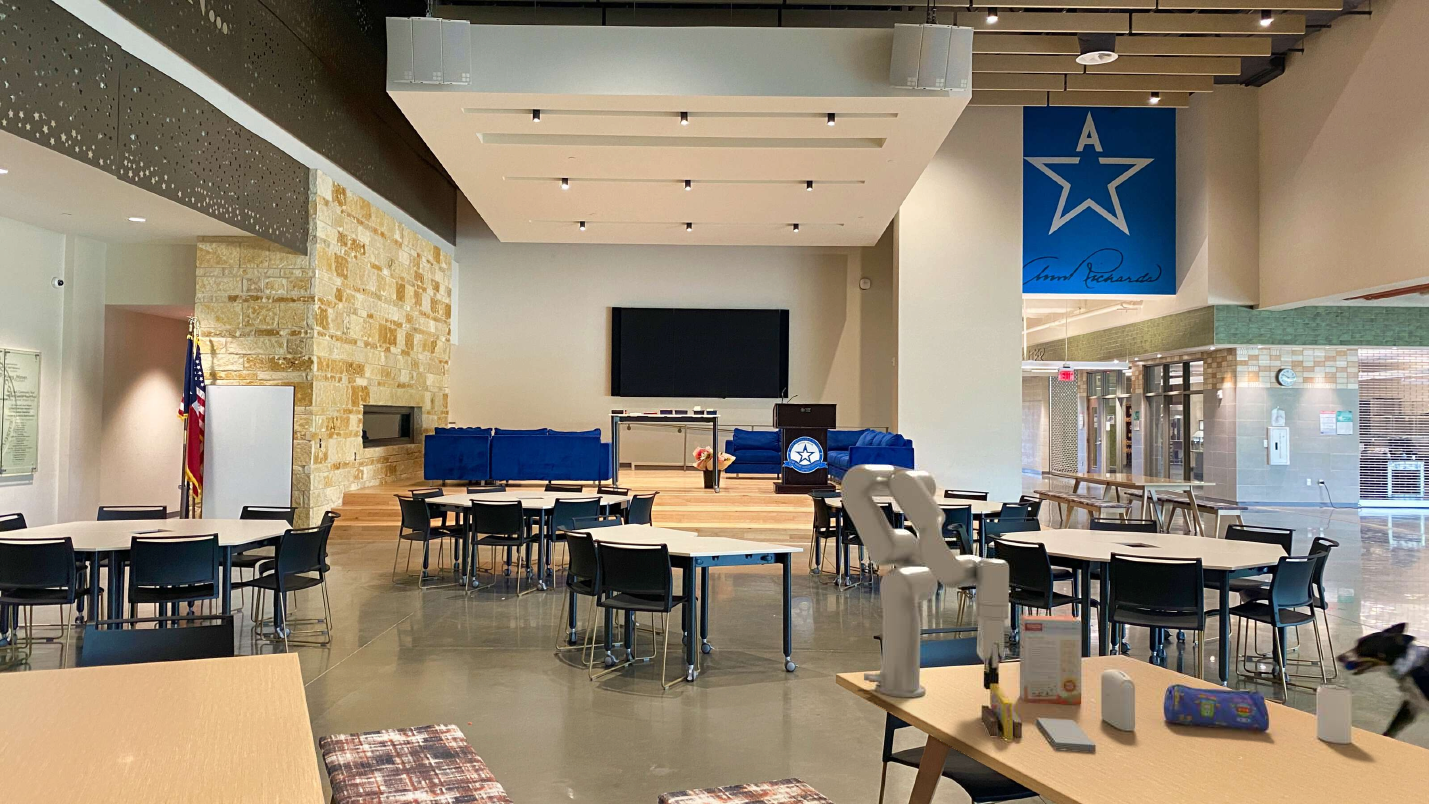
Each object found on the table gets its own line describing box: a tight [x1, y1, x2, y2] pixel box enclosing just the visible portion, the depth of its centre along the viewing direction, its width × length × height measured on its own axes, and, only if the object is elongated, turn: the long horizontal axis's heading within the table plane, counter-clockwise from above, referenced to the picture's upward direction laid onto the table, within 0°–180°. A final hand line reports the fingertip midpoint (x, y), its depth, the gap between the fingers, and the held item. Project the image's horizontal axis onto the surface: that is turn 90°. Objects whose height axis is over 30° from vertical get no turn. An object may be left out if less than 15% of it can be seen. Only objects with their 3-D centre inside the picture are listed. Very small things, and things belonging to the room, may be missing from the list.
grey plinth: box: [1036, 717, 1097, 753], centre depth 201 cm, size 8×18×2 cm, turn 173°
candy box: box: [989, 684, 1014, 741], centre depth 206 cm, size 16×2×8 cm, turn 174°
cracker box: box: [1019, 614, 1082, 705], centre depth 232 cm, size 14×6×21 cm, turn 84°
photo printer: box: [1100, 669, 1136, 732], centre depth 213 cm, size 10×4×12 cm, turn 2°
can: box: [1316, 682, 1352, 745], centre depth 206 cm, size 6×6×12 cm
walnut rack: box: [980, 704, 1023, 740], centre depth 206 cm, size 7×12×4 cm, turn 173°
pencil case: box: [1163, 683, 1270, 733], centre depth 214 cm, size 22×9×10 cm, turn 77°
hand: (991, 688), depth 220 cm, fingers closed
